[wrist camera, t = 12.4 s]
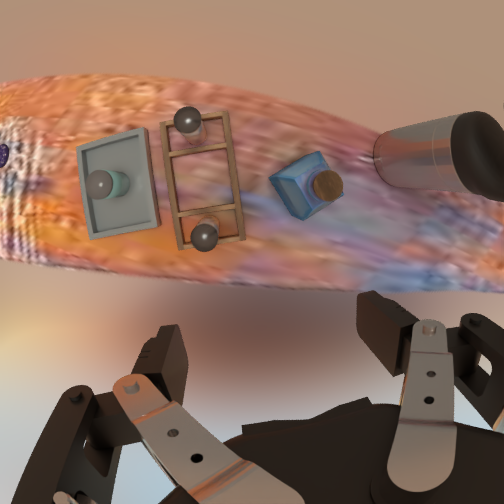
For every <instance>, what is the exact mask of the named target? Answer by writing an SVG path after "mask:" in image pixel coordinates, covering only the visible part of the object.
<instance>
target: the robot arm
mask: <svg viewBox="0 0 504 504" xmlns="http://www.w3.org/2000/svg"><path fill="white" fill-rule="evenodd" d="M374 162H375V166H376V169H377V171H378V173H379V175H380V176H381V177H382V179H383V180H384V181H385V182H387V183H388V184H390V185H392V186H395V187H403V188H416V189H429V190H440V191H451V192H460V193H470V194H477V195H482V196H484V197H486V198H488V199H490V200H494V201H500V202H504V131H503V129H502V127H501V126H500V125H499V123H498V122H497V121H496V120H495V119H494V118H493V117H491V116H490V115H489V114H487V113H484V112H480V111H474V112H468V113H463V114H458V115H453V116H448V117H444V118H440V119H435V120H431V121H427V122H422V123H418V124H414V125H410V126H406V127H402V128H398V129H394V130H391V131H387V132H385V133H383V134H382V135H381V136H380V137H379V138H378V140H377V141H376V144H375V147H374ZM356 326H357V332H358V334H359V336H360V338H361V339H362V340H363V341H364V342H365V343H366V345H367V346H368V347H369V348H370V350H371V351H372V352H373V353H374V354H375V356H376V357H377V358H378V359H379V360H380V362H381V363H382V364H383V365H384V366H385V368H386V369H387V370H388V371H389V372H390V374H391V375H392V376H393V377H395V376H397V375H400V374H403V373H404V374H405V377H404V382H403V387H402V392H401V397H400V401H399V405H394V404H372V403H371V402H370V400H369V399H368V397H365V398H362V399H358V400H356V401H352V402H349V403H345V404H342V405H339V406H337V407H335V408H333V409H331V410H328V411H326V412H324V413H322V414H320V415H318V416H316V417H314V418H311V419H306V420H273V421H268V422H261V423H254V424H247V425H242V434H241V435H239V436H236V437H234V438H231V439H229V440H227V441H226V442H223V443H222V442H220V441H219V440H218V439H217V438H216V437H214V436H213V435H212V434H211V433H210V432H209V431H208V430H206V429H205V428H204V427H203V426H202V425H201V424H200V423H198V421H196V420H195V419H194V418H193V417H192V416H191V415H190V414H189V413H188V412H187V411H186V410H185V409H184V408H183V407H182V404H183V398H184V391H185V385H186V378H187V373H188V357H187V353H186V349H185V346H184V342H183V339H182V335H181V332H180V328H179V326H178V325H177V324H175V325H167V326H161V327H160V329H159V331H158V334H157V337H155V338H150V339H149V340H148V341H147V342H146V343H145V344H144V346H143V348H142V350H141V353H140V354H139V356H138V359H137V361H136V363H135V366H134V368H133V370H132V372H131V374H130V375H127V376H124V377H122V378H120V379H119V380H118V381H117V382H116V383H115V384H114V386H113V391H112V392H108V393H103V394H98V395H94V393H93V391H92V389H91V388H90V387H88V386H85V385H78V386H74V387H71V388H69V389H68V390H67V391H65V392H64V393H63V394H62V396H61V398H60V399H59V401H58V403H57V405H56V407H55V409H54V410H53V412H52V414H51V416H50V418H49V420H48V422H47V424H46V426H45V428H44V429H43V431H42V433H41V435H40V438H39V440H38V442H37V444H36V446H35V448H34V450H33V452H32V454H31V456H30V459H29V461H28V463H27V465H26V467H25V470H24V472H23V474H22V477H21V479H20V481H19V484H18V486H17V489H16V491H15V494H14V497H13V500H12V502H11V504H111V500H112V494H113V489H114V483H115V478H116V473H117V468H118V463H119V459H120V454H121V450H122V446H123V445H128V444H132V443H137V442H142V444H143V445H144V447H145V448H146V449H147V450H148V452H149V453H150V455H151V456H152V457H153V459H154V460H155V462H156V463H157V464H158V465H159V466H160V468H161V469H162V470H163V472H164V473H165V474H166V476H167V477H168V478H169V480H170V481H171V482H172V483H173V485H174V486H175V487H176V488H175V489H174V490H173V491H172V492H170V493H169V494H168V495H167V496H166V497H165V498H164V499H163V500H162V501H161V502H160V503H158V504H504V329H503V328H501V327H500V326H498V325H497V324H496V323H494V322H493V321H491V320H490V319H488V318H487V317H485V316H483V315H481V314H477V313H469V314H465V315H464V316H462V317H461V321H460V326H459V327H454V328H447V329H446V327H445V326H444V324H442V323H441V322H439V321H436V320H431V319H426V320H419V319H418V318H416V317H415V316H414V315H412V314H411V313H410V312H408V311H406V309H404V308H403V307H401V305H399V304H398V303H397V302H395V301H393V300H390V299H387V298H383V297H382V296H381V295H380V294H378V293H377V292H376V291H374V290H372V291H368V292H364V293H359V294H358V296H357V318H356ZM481 354H482V355H484V356H485V357H486V358H487V359H488V360H489V361H490V362H491V365H492V372H491V375H490V376H489V374H488V373H486V371H484V370H483V369H482V368H481V367H480V366H479V365H478V363H479V361H480V357H481ZM454 385H455V386H456V387H457V389H458V390H460V392H461V393H462V394H463V395H464V396H465V398H466V399H467V400H468V401H469V402H470V403H471V404H472V405H473V407H474V408H475V409H476V410H477V411H478V412H479V414H480V415H481V416H482V417H483V418H484V420H485V421H486V422H487V423H488V424H489V426H490V427H491V428H492V429H493V431H492V430H487V429H483V428H478V427H473V426H470V425H466V424H462V423H458V422H454ZM85 440H86V443H85ZM84 443H85V446H84ZM83 446H84V449H83Z"/></svg>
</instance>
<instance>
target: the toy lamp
mask: <svg viewBox="0 0 504 504" xmlns="http://www.w3.org/2000/svg"><path fill="white" fill-rule="evenodd" d="M8 155H9V150H8V147H7V145H5V144H1V145H0V168H1V167H3V166H4V165H5V164H6V162H7V159H8Z"/></svg>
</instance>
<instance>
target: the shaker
mask: <svg viewBox="0 0 504 504" xmlns="http://www.w3.org/2000/svg"><path fill="white" fill-rule="evenodd" d="M129 187H130V180H129V178H128V176H127V175H126V174H125V173H123V172H118V171H110V170H95V171H93V172H92V173H90V174H89V176H88V177H87V179H86V183H85V188H86V192H87V194H88V195H89V196H90V197H91V198H92V199H95V200H103V199H110V198H117V197H122V196H124V195H125V194H126V193H127V192H128V190H129Z"/></svg>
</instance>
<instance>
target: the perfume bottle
mask: <svg viewBox="0 0 504 504" xmlns="http://www.w3.org/2000/svg"><path fill="white" fill-rule="evenodd" d="M269 179H270V181H271V183H272V184H273V186H274V187H275V189H276V191H277V192H278V194H279V195H280V197H281V199H282V200H283V202H284V204H285V205H286V207H287V209H288V210H289V212H290V214H291V215H292V216H294V217H296V218H298V219H300V220H302V221H304V220H305V219H307V218H309V217H310V216H312V215H313V214H315V213H316V212H318V211H320V210H321V209H323V208H324V207H326V206H327V205H329V204H330V203H332V202H334V201H335V200H337V199H338V198H340V197H341V196H343V195H344V193H343V191H342V190H343V182H342V179H341V177H340V176H339V175H338V174H337V173H336V172H334V171H331V170H330V168H329V166H328V164H327V163H326V161H325V159H324V158H323V156H322V154H321V152H320V151H317V152H314V153H311V154H308V155H305V156H304V157H302V158H300V159H299V160H297V161H295V162H293V163H292V164H290V165H288V166H287V167H285V168H283V169H282V170H280V171H278V172H277V173H275V174H274V175H272V176H270V177H269Z"/></svg>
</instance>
